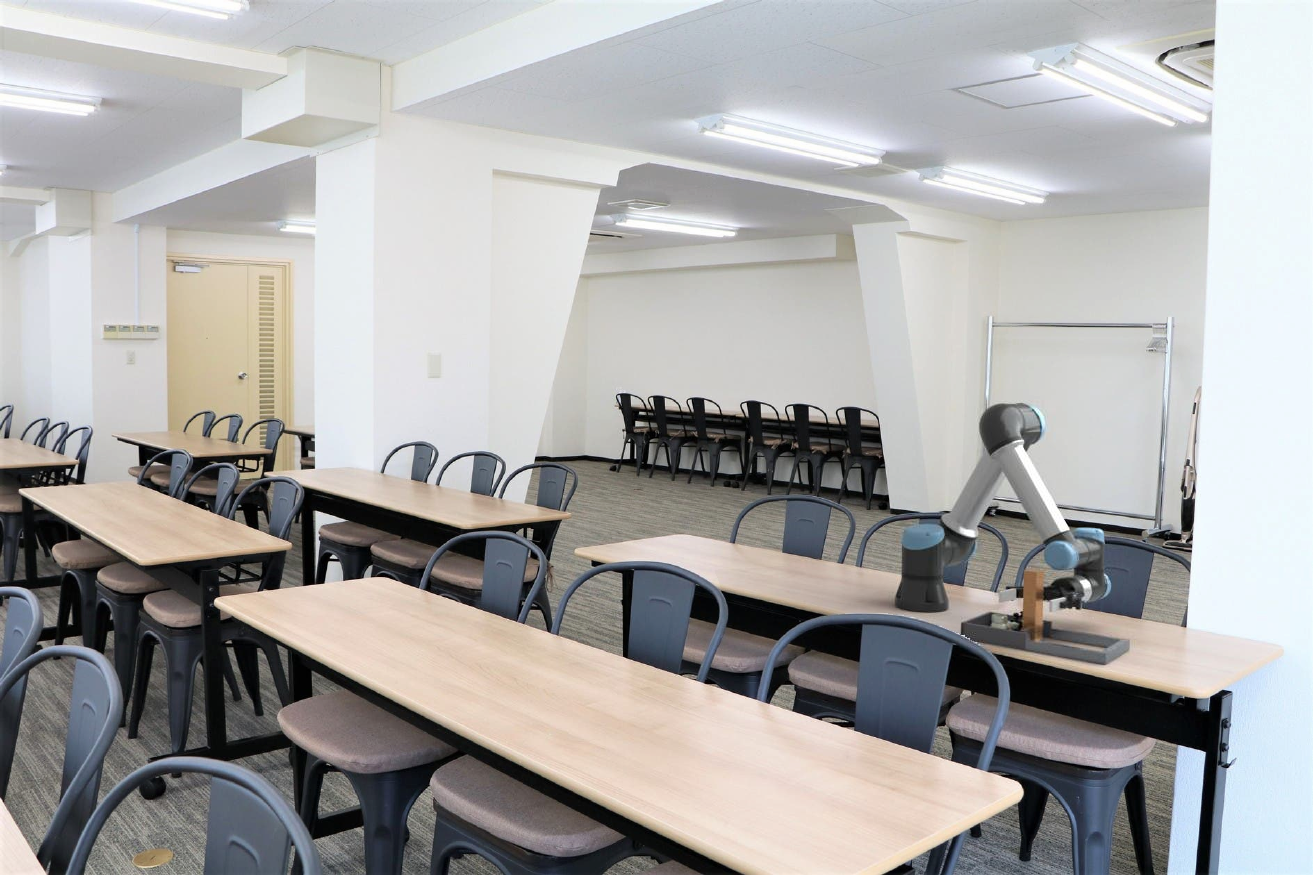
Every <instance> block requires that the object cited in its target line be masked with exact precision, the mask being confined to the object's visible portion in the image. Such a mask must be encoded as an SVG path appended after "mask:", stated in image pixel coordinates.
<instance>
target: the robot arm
mask: <svg viewBox="0 0 1313 875" xmlns="http://www.w3.org/2000/svg"><path fill="white" fill-rule="evenodd" d="M978 424H979V425H978V432H979V435H980V439H981V443H982V444H983V446H984V448H985V449H984V451H983V453H982V455H981V457H980V458H979V460H978V462H977V464H976V465H975V467H974V469H973V471H972V472H971V474H970V476H969V478H968V480H967V482H966V484H965V485H964V487H963V489H962V491H961V493H960V494H959V496H958V498H957V500H956V501H955V503H954V505H953V507H952V509H951V510H950V512H948V513H944V514H942V515H941V518H940V519H939V521H938V523H937V524H932V523H921V524H914V525H913V524H912V525H910V526H906V528H905V529H904V530H903V531H902V535H901V536H902V537H901V538H902V539H901V578H900V582H899V585H898V588H897V590H896V593H895V596H894V606H895V607H897V608H899V609H902V610H907V611H911V612H922V613H923V612H925V613H928V612H929V613H932V612H935V613H936V612H944V611H946V610H947V611H948V609H949V608H950V607H949V601H950V600H949V597H948V595H947V590H946V587H945V584H944V580H943V578H944V568H946V567H953V566H959V565H962V564H964V563H967V562H968V561H969V560H970V559H972V558H973V557H974V555H975V554H976V551H977V548H978V542H977V538H978V536H979V534H980V533H979V530H978V526H979V524H980V523H981V521H982V519H983V518H984V515H985V513H986V512H987V510H988V508H989V507H990V505H991V503H992V501H993V500H994V499H995V497H996V494H997V493H998V491H999V490H1000V488H1001V486H1002V484H1003V482H1004V480H1005V479H1007V482H1008V483H1009V485H1010V487H1011V489H1012V490H1013V492H1014V494H1015V495H1016V497H1017V499H1018V501H1019V503H1020V504H1021V506H1022V508H1023V509H1024V511H1025V513H1026V515H1027V517H1028V518H1029V521H1030V522H1031V524H1032V526H1033V527H1034V529H1035V531H1036V532H1037V535H1038V536H1039V538H1040V540H1041V542H1042V544H1043V546H1044V551H1043V560H1044V562H1045V563H1046V564H1047V566H1048V567H1049V568H1051V569H1052V570H1055V571H1069V570H1073V575H1068V576H1065V577H1061V578H1060V577H1059V578H1057V579H1055V580H1054V581H1052V582H1051V584H1050V585H1047V586H1044V588H1043V601H1048V602H1049V607H1048V608H1049V609H1048V610H1049V612H1050V613H1054V612H1058V611H1062V610H1065V609H1068V610H1071V609H1073V608H1074V609H1075V610H1077V611H1080V610H1082V605H1083V604H1086V603H1089V602H1097V601H1099V600H1101V599H1104V598H1106V597H1107V596H1108V595H1109V594H1110V593H1111V590H1112V583H1111V580H1110V578H1109V576H1108V575H1107V574H1106V573H1105V545H1106V543H1105V532H1104V531H1103V529H1101V528H1095V527H1076V528H1075V529H1074V531H1073V533H1072V531H1071V530H1070V527H1069V526H1068V524H1067V523H1066V521H1065V519H1064V518H1063V515H1062V513H1061V512H1060V510H1059V509H1058V506H1057V505H1056V503H1055V501H1054V499H1053V497H1052V495H1051V494H1050V493H1049V491H1048V489H1047V488H1046V485H1045V484H1044V482H1043V480H1042V479H1041V476H1040V475H1039V472H1038V471H1037V470H1036V467H1035V466H1034V464H1033V462H1032V460H1031V459H1030V457H1029V455H1028V453H1027V452H1028V450H1029V448H1031V446H1032V445H1035V444H1036V443H1038V442H1039V441H1040V440H1041V439H1042V438H1043V436H1044V434H1045V432H1046V421H1045V417H1044V415H1043V413H1042V412H1041V410H1039V409H1038V408H1037V407H1036V406H1034V405H1032V404H1028V403H1024V402H1016V403H1004V402H1003V403H996V404H992V405H991V406H989V407H988V408H987V409H985V410H984V411H983V413H982V414H981V416H980V419H979V423H978ZM1023 588H1024V585H1016V586H1015V585H1011V586H1009V585H1006V586H1005V589H1004V590H1000V591H998V592H999V593H998V594H999V595H998V602H999V603H1006V602H1010V601H1011V602H1014V601H1015V600H1017V599H1023Z"/></svg>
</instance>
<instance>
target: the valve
mask: <svg viewBox="0 0 1313 875" xmlns="http://www.w3.org/2000/svg"><path fill="white" fill-rule="evenodd" d="M1003 614H1004V613H1001V614H993V615H992V624H991V627H994V628H1000V629H1006V630H1012V631H1018V632H1020V630H1021V629H1020V628H1022V625H1023V620H1019V621H1018V619H1019V618H1020V617H1022V618H1023V610H1020V612H1014V613H1013V614H1012V615H1013V616H1015V617H1016V618H1014V619H1013V620H1011V621H1008V617H1007V616H1006V615H1003Z"/></svg>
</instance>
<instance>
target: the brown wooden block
mask: <svg viewBox="0 0 1313 875" xmlns="http://www.w3.org/2000/svg"><path fill="white" fill-rule="evenodd" d="M1044 576H1045V570H1040V569H1036V568H1035V569H1033V568H1029V569H1024V570H1023V586H1024V588H1023V598H1022V611H1023V625H1022V630H1020V632H1024V633H1027V639H1032V640H1038V641H1043V642H1045V641H1044V640H1045V637H1044V623H1045V622H1043V620H1044V618H1043V614H1044V600H1043V598H1044V597H1043V588H1044V584H1045V583H1044V581H1045V580H1044V579H1045V577H1044Z"/></svg>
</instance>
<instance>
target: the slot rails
mask: <svg viewBox="0 0 1313 875" xmlns="http://www.w3.org/2000/svg"><path fill="white" fill-rule="evenodd" d="M1049 638H1050V639H1054V640H1060V641H1065V642H1071V643H1077V644H1084V645H1090V646H1096V647H1102V648H1105V649H1103V650H1102V651H1101V650H1095V649H1089V648H1085V647H1084V648H1083V647H1078V646H1071V645H1065V644H1060V643H1054V642H1048V641H1044V642H1043V641H1038V640H1032V639H1027V640H1026V646H1025V650H1024V651H1027V652H1035V653H1040V654H1045V655H1049V656H1057V657H1059V658H1061V657H1062V658H1068V659H1073V660H1077V661H1084V662H1088V663H1089V662H1090V663H1094V664H1098V665H1099V664H1100V665H1106V666H1107V665H1108V664H1109V663H1110V662H1113V661H1114V660H1116V659H1117V658H1119V657H1121V656H1122V655H1124V654H1125V653H1127V652H1129V651H1130V650H1131V649H1130V645H1131V640H1130V639H1127V638H1121V637H1114V636H1110V635H1103V634H1096V633H1092V632H1085V631H1078V630H1071V629H1067V628H1066V629H1065V628H1060V627H1055V626H1054V627H1053V626H1052V628H1050V637H1049Z"/></svg>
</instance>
